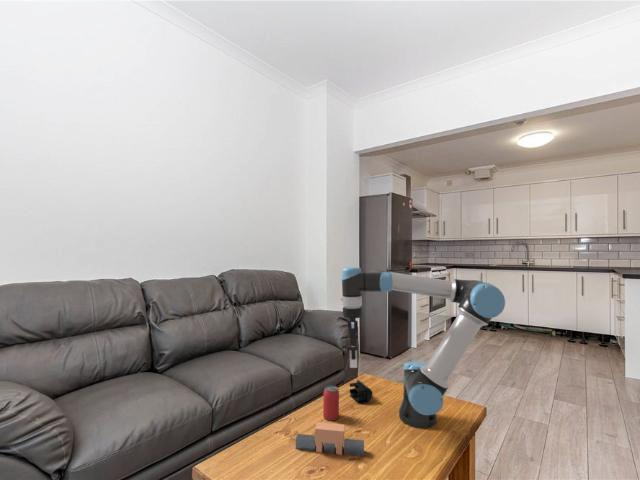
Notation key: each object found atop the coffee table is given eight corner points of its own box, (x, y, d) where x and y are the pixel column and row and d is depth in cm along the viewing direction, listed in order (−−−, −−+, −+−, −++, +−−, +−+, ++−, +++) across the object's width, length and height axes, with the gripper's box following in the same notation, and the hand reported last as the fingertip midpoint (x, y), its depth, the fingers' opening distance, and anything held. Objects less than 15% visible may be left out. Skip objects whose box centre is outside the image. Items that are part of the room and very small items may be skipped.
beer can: (337, 422, 134) (338, 392, 134) (321, 420, 135) (322, 390, 135) (339, 414, 140) (340, 385, 141) (324, 412, 142) (325, 384, 142)
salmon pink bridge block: (344, 447, 117) (344, 424, 117) (343, 454, 113) (343, 431, 113) (316, 444, 119) (316, 422, 119) (314, 451, 114) (315, 428, 114)
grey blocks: (364, 450, 116) (364, 440, 116) (363, 455, 113) (364, 445, 113) (297, 443, 119) (297, 433, 119) (295, 448, 116) (295, 438, 116)
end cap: (372, 402, 152) (372, 387, 152) (359, 404, 149) (359, 389, 149) (362, 393, 161) (362, 379, 161) (349, 395, 158) (349, 381, 158)
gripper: (343, 301, 142) (344, 350, 141) (341, 313, 117) (343, 373, 116) (360, 301, 141) (361, 351, 141) (363, 313, 116) (364, 373, 116)
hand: (353, 361), depth 129 cm, fingers open, 13 cm apart
